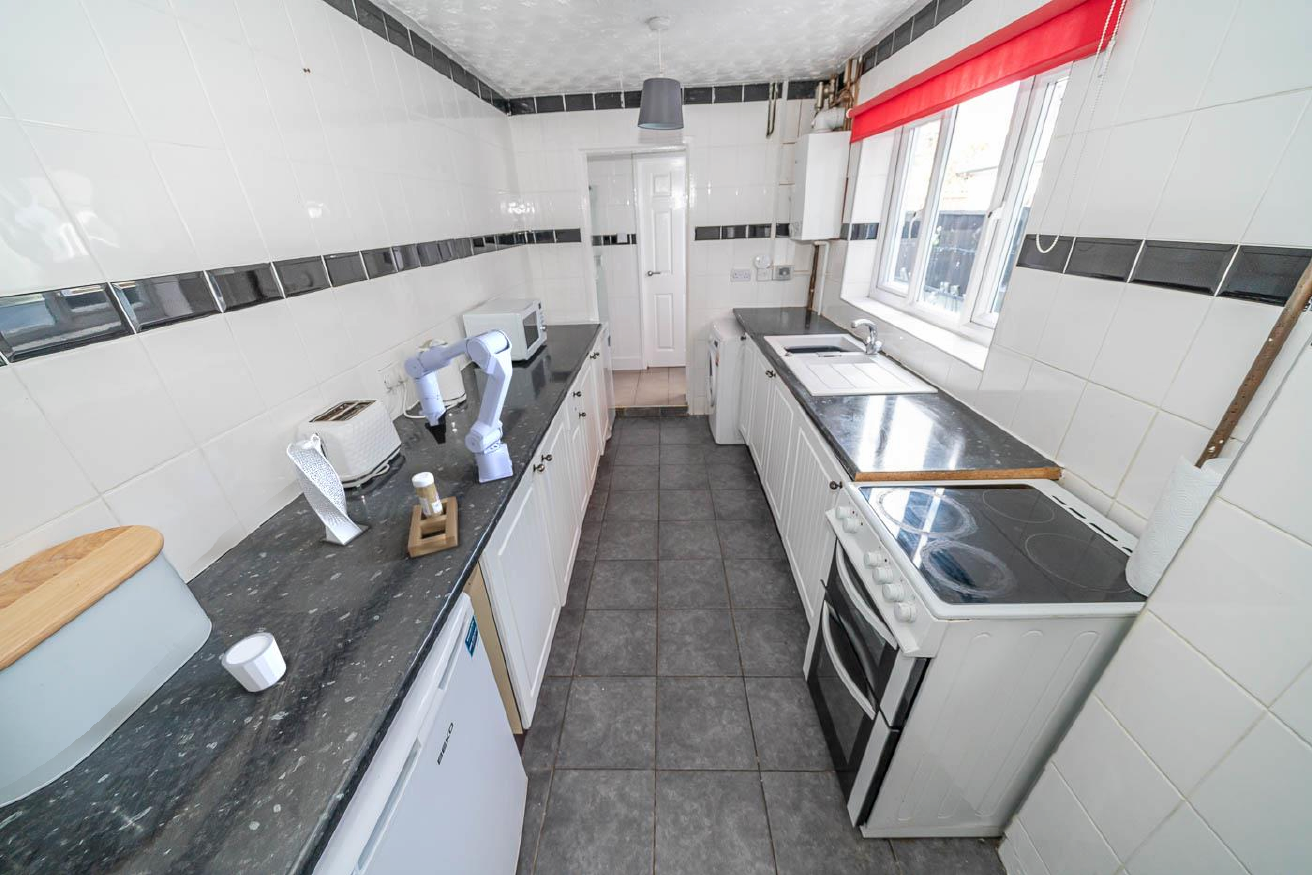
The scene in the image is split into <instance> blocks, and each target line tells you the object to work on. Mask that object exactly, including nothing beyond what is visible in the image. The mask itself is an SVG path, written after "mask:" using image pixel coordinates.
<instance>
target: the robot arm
mask: <svg viewBox="0 0 1312 875" xmlns="http://www.w3.org/2000/svg"><path fill="white" fill-rule="evenodd" d="M512 348H513V344H512V342H511V340H510V339H509V337H508V335H507V334H506V332H504V331H503V330H501V329H497V328H495V329H492V330H490V331H484V332H480V333H476V334H473V335H469V336H467V337H464V338H462V339H460V340H458V341H456V342H454V343H452V344H450V345H448V346H444V345H440V344H439V345H437V344H433V345H430V346H428V349H427V350H425V351H424V350H421V351H418V352H417V354H416V355H414V356H411V357H407V359H406V360H404V363H403V367H404V371H405V372H406V374H407V375H408V376H409V377H411V378H412V380H413V383H414V386H415V389H416V393H417V396H418V399H419V403H420V406H421V409H422V410H420V411H418V414H419V416H420V417H421V416H424V417H425V418H426V419H427V420H428V422H424V428H425V429H426V430H427V431H428V432H429V433H430V434H431V436H433V438H434V440H435V442H436V443H437V445H442V444H446V442H447V438H446V433H447V419H446V418H447V412H448V408H447V407H446V406H445V404H444V401H443V397H442V394H441V390H440V387H439V384H438V380H437V376H438V373H437V371H439V370H441V369H444V368H446V367H448V366H450V365H452V362H453V359H454V358H457V357H460V356H463V355H466V357H467V358H471V359H472V360H473V361H474V363H476V365H478V367H479V368H480V369H481V370H482V371H483V372H484V373H485V374H488V378H487V381H486V385H485V389H484V394H483V397H482V400H481V405H480V408H479V412H478V417H477V419H476V421H475V422H474V424H473V425H472V426H471V427H470V429H469V432H468V433H467V434H466V435H465V437H464V444H465V447H466V448H467V449H468V450H469V452H471V453H472V454H474V457H475V461H476V465H477V469H478V481H479V483H481V484H482V483H487V482H491V481H495V480H499V479H503V478H509V477H513V475H514V472H513V462H512V459H511V458H510V455H509V450H508V445H507V443H501V439H502V437H503V428H502V427H503V422H502V421H501V420H500V417H501V413H502V410H503V407H504V404H505V400H506V397H507V393H508V390H509V386H510V384H511V379H512V377H513V364H512V357H511V351H512Z"/></svg>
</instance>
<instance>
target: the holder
mask: <svg viewBox="0 0 1312 875" xmlns="http://www.w3.org/2000/svg"><path fill="white" fill-rule="evenodd" d="M440 502H441V505H442V509H443V512H444V513H445V514H444V515H443V516H438V517H434V518H430V519H426V516H425V514H424V512H423V509H422V506H421V503H420V504H415V505H413V510H412V517H411V522H410V529H409V535H408V542H407V550H408V553H409V556H410V558H416V557H420V556H423V555H427V554H431V553H434V552H438V551H443V550H446V549H450V548H455V547H458V532H459V530H458V527H459V524H458V522H459V520H458V519H459V518H458V516H459V514H458V513H459V510H458V509H459V505H458V502H457V498H456V495H455V496H449V497H445V498H442V499H440ZM441 531H445V533H442V534H437V535H433V536H430V537H425V538H423V537H424V536H425V535H430V534H434V533H438V532H441Z"/></svg>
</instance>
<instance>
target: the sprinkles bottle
mask: <svg viewBox="0 0 1312 875" xmlns="http://www.w3.org/2000/svg"><path fill="white" fill-rule="evenodd" d="M411 481H412V485H413V487H414V488H415V490H416V493H417V494H416V495H417V498H418V500H419V503H420V504H421V506H422V509H423V512H424V514H425V516H426V517H425V520H426V519H430V518H434V517H438V516H443V515H445V512H443V509H442V505H441V502H440V500H441V499H440V496H439V493H438V491H437V487H436V485H435V481H434V476H433V474H432V472H429V471H423V472H420V473H417V474H415V475H414V476H413V477H412V478H411Z"/></svg>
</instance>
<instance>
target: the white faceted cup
mask: <svg viewBox="0 0 1312 875" xmlns="http://www.w3.org/2000/svg"><path fill="white" fill-rule="evenodd" d="M279 648H280V647H279V646H278V644H277V641H276V640H275V637H274V635H273V634H272V633H270V632H258V633H254V634H251V635H248V636H247V637H244V638H242V639H241V640H240V641H238V642H236V643H234V644H233V645H232V646H231V647H230V648H229V649H228V650H226V652H225V653H224V655H223V657H222V658H221V666H222V667H223V668H224V669H226V671H227V672H228V673H229V674H231V675H232V677H234V679H236V681H237V682H239V683H240V685H242V686H243V688H244V689H246V691H248V692H251V693H252V692H253V693H257V692H261V691H263V690H266V689H267V688H269V687H271V686H273V685H274V684H276V683H277V682H278V681H279V680H280V679H281V678H282V677H283V675H284V674H285V673H286V670H287V665H286V662H285V660H284V657H283V656H282V652H281V651H280V649H279Z"/></svg>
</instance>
